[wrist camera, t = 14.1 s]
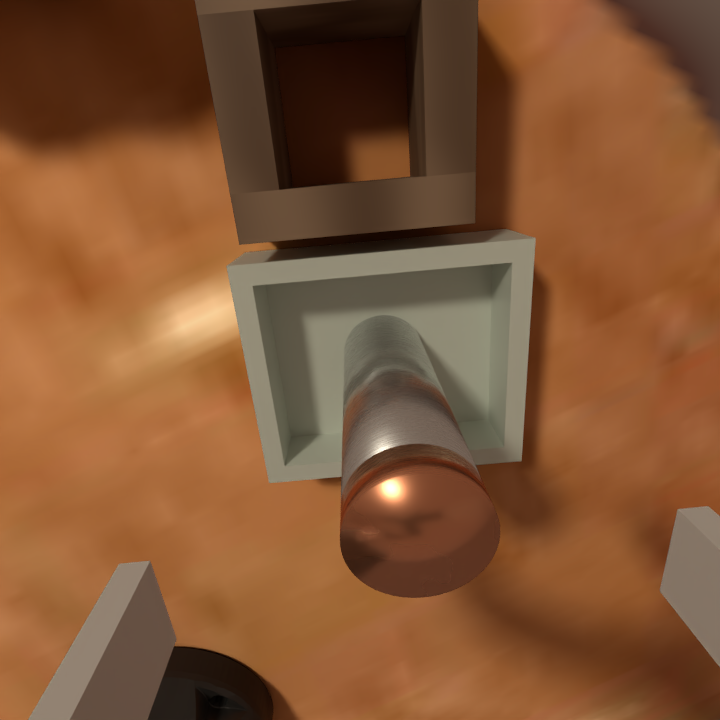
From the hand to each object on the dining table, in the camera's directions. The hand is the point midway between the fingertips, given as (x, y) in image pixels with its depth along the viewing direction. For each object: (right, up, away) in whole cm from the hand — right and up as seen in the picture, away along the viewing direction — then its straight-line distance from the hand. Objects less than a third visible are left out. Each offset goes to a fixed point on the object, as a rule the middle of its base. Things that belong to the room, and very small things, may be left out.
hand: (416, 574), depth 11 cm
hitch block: (-2, +17, +10) cm, 20 cm away
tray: (0, +6, +15) cm, 16 cm away
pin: (0, +6, +14) cm, 15 cm away
